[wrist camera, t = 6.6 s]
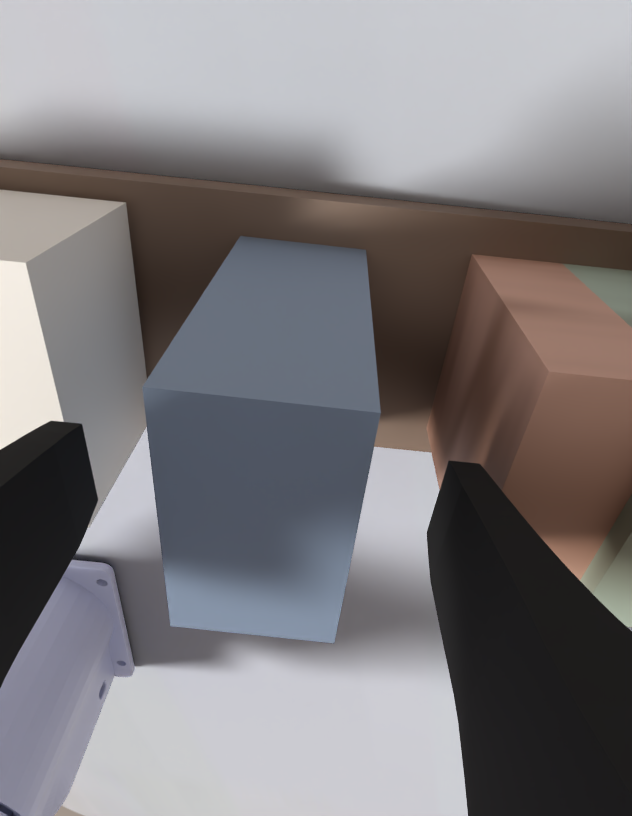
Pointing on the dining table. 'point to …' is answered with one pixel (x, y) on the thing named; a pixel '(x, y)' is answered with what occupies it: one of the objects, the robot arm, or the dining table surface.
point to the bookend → (71, 326)
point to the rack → (436, 333)
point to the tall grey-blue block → (265, 440)
